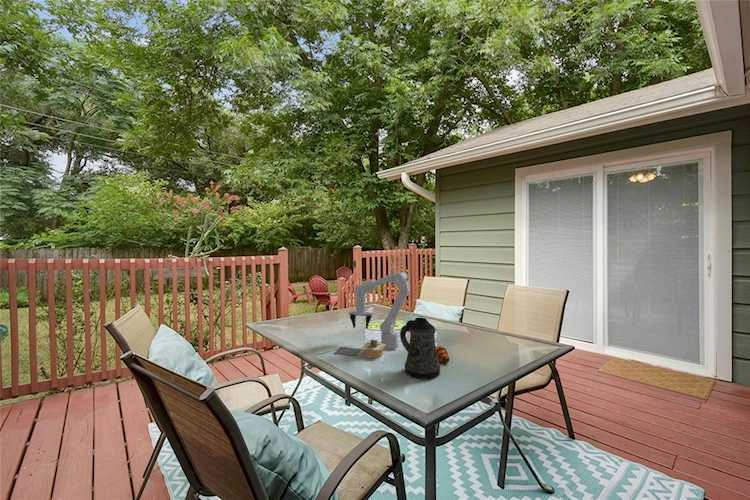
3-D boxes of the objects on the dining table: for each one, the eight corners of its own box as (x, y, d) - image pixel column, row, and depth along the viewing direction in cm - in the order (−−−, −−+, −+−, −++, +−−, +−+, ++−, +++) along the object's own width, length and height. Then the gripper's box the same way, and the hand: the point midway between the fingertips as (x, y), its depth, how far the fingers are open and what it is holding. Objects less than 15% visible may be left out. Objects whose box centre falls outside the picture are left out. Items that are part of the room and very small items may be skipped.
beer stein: (440, 381, 149) (440, 324, 148) (395, 377, 153) (396, 321, 152) (440, 367, 165) (441, 316, 164) (400, 364, 169) (401, 314, 168)
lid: (386, 345, 185) (386, 338, 185) (381, 351, 174) (381, 344, 174) (366, 343, 187) (366, 337, 187) (360, 349, 177) (360, 342, 177)
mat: (362, 349, 191) (362, 348, 191) (355, 357, 178) (355, 356, 178) (340, 347, 194) (340, 346, 194) (332, 355, 182) (332, 354, 182)
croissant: (423, 358, 188) (417, 346, 187) (437, 348, 191) (431, 336, 190) (443, 371, 168) (437, 358, 167) (459, 360, 171) (452, 346, 170)
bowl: (383, 354, 184) (383, 345, 184) (379, 359, 175) (380, 350, 175) (367, 352, 186) (367, 344, 186) (363, 357, 177) (363, 349, 177)
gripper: (346, 305, 198) (346, 328, 199) (371, 307, 195) (370, 330, 195) (350, 303, 205) (350, 325, 206) (374, 304, 202) (373, 327, 202)
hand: (360, 328), depth 201 cm, fingers open, 7 cm apart
